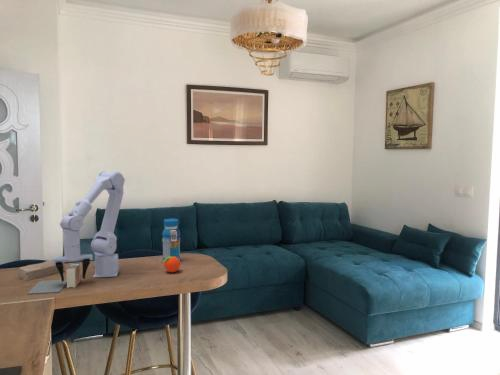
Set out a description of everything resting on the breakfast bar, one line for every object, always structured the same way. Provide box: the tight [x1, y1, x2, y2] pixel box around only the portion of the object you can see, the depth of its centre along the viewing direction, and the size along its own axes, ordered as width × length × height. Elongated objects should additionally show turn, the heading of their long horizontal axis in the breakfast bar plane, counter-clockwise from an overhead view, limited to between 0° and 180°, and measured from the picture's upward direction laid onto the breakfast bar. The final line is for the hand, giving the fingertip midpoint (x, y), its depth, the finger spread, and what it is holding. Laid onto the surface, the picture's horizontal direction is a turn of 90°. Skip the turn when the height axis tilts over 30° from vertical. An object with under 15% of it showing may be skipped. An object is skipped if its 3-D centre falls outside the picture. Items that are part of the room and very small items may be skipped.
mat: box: [27, 278, 67, 295], centre depth 162 cm, size 11×15×1 cm
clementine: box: [162, 256, 181, 273], centre depth 182 cm, size 8×7×7 cm
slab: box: [66, 263, 81, 289], centre depth 165 cm, size 3×8×7 cm, turn 10°
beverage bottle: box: [161, 218, 181, 262], centre depth 200 cm, size 8×8×20 cm
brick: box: [17, 259, 66, 281], centre depth 178 cm, size 17×8×5 cm, turn 141°
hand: (73, 279), depth 165 cm, fingers open, 7 cm apart
